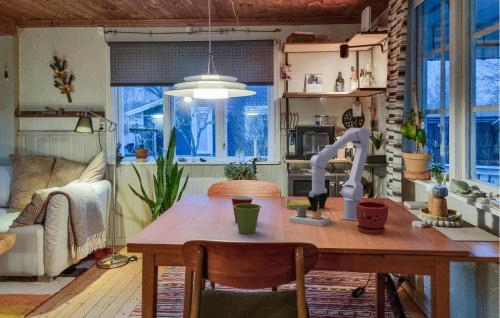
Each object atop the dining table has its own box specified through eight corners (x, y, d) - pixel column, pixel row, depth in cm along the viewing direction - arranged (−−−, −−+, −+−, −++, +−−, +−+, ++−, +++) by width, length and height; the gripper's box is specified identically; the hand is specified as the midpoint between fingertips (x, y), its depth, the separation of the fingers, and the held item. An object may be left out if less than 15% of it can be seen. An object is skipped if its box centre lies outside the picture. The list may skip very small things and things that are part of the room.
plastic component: (285, 205, 228) (287, 194, 237) (286, 216, 232) (288, 205, 240) (322, 204, 223) (322, 193, 232) (323, 215, 227) (324, 204, 235)
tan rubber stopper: (315, 220, 201) (315, 208, 201) (323, 222, 198) (324, 209, 198) (309, 222, 198) (309, 209, 197) (318, 224, 195) (318, 211, 194)
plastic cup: (257, 220, 201) (257, 195, 200) (245, 225, 191) (245, 199, 191) (238, 218, 206) (238, 193, 205) (225, 222, 197) (225, 197, 196)
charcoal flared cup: (308, 220, 202) (308, 207, 202) (304, 222, 198) (304, 209, 198) (299, 219, 205) (299, 206, 204) (295, 221, 201) (295, 208, 200)
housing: (330, 221, 201) (330, 216, 200) (321, 226, 190) (321, 221, 190) (299, 217, 209) (299, 213, 209) (288, 222, 199) (288, 217, 198)
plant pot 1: (237, 236, 173) (237, 209, 172) (230, 229, 184) (230, 204, 183) (264, 234, 176) (265, 207, 175) (256, 227, 187) (256, 202, 186)
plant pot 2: (349, 231, 181) (350, 203, 180) (365, 226, 190) (366, 200, 189) (377, 237, 172) (378, 208, 171) (393, 231, 181) (394, 204, 180)
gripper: (319, 183, 188) (319, 213, 189) (332, 179, 200) (332, 208, 201) (305, 182, 192) (304, 211, 193) (319, 178, 204) (319, 206, 205)
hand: (318, 210), depth 197 cm, fingers open, 7 cm apart
